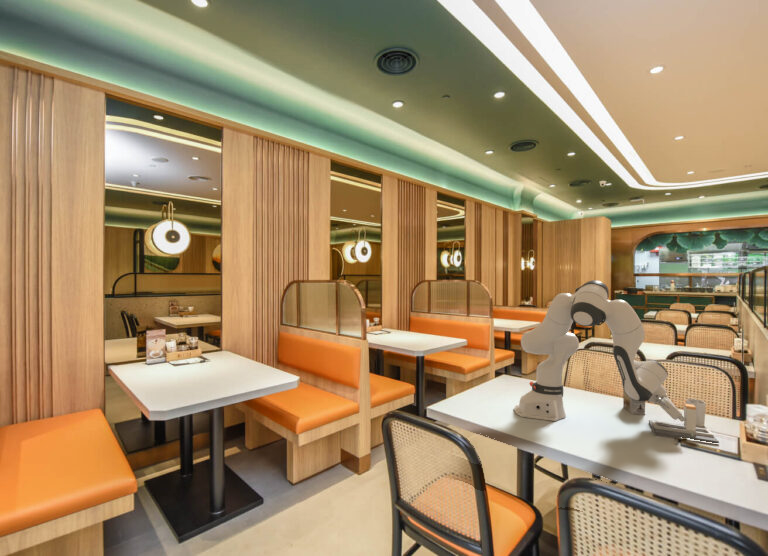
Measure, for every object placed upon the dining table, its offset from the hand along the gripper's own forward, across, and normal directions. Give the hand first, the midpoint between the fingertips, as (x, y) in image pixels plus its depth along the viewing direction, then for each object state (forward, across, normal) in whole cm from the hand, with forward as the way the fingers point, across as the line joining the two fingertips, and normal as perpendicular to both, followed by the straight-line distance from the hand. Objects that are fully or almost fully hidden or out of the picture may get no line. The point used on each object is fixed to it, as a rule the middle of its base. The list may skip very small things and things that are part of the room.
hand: (683, 419), depth 153 cm
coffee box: (-6, +23, +14) cm, 28 cm away
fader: (+5, 0, +1) cm, 5 cm away
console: (+4, 0, +4) cm, 6 cm away
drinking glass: (+10, +16, -1) cm, 19 cm away
